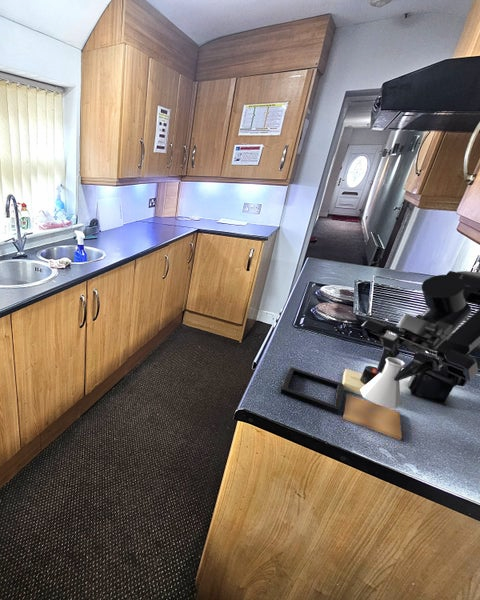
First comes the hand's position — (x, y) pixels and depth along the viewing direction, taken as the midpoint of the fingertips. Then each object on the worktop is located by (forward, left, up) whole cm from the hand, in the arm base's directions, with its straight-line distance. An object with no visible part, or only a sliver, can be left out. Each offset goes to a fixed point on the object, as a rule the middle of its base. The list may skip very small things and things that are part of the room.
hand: (386, 375), depth 71 cm
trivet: (-1, -1, -12) cm, 12 cm away
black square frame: (+11, -3, -12) cm, 17 cm away
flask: (-1, -1, -7) cm, 7 cm away
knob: (0, -13, -10) cm, 16 cm away
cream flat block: (0, -13, -12) cm, 18 cm away
